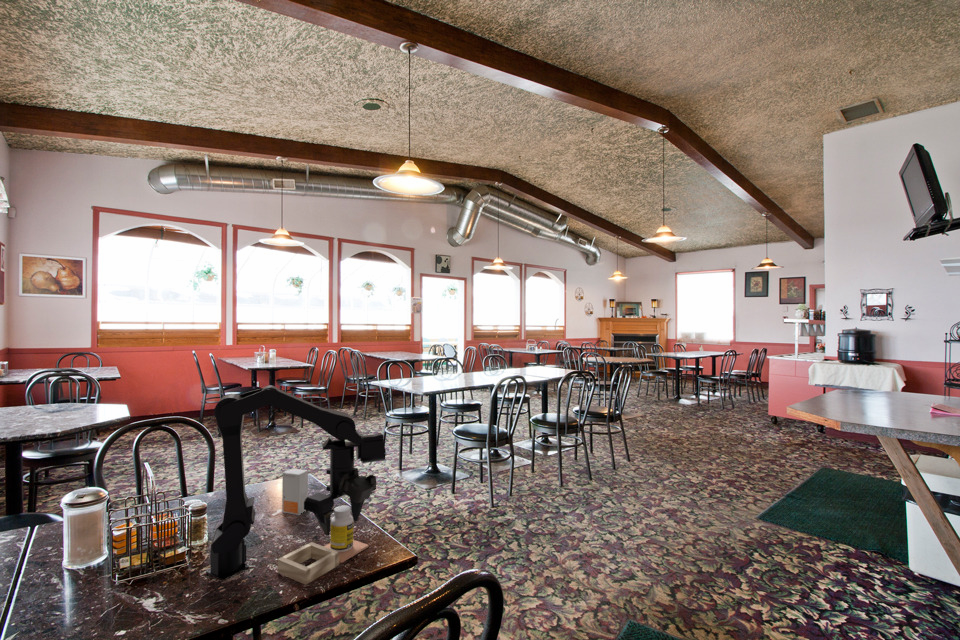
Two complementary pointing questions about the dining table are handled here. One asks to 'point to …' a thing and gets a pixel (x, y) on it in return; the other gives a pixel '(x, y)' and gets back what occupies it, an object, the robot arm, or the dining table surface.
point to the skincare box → (294, 491)
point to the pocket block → (305, 575)
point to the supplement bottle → (342, 529)
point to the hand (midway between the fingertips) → (341, 527)
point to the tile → (353, 551)
